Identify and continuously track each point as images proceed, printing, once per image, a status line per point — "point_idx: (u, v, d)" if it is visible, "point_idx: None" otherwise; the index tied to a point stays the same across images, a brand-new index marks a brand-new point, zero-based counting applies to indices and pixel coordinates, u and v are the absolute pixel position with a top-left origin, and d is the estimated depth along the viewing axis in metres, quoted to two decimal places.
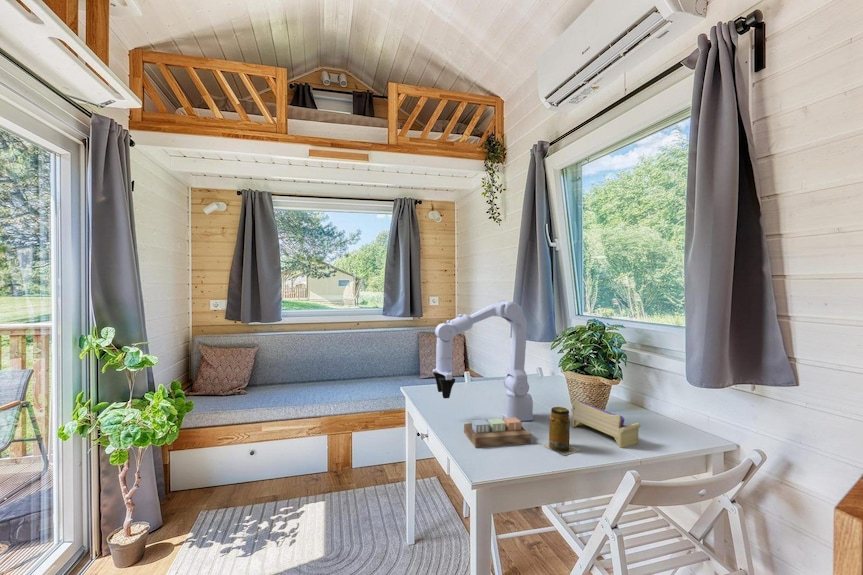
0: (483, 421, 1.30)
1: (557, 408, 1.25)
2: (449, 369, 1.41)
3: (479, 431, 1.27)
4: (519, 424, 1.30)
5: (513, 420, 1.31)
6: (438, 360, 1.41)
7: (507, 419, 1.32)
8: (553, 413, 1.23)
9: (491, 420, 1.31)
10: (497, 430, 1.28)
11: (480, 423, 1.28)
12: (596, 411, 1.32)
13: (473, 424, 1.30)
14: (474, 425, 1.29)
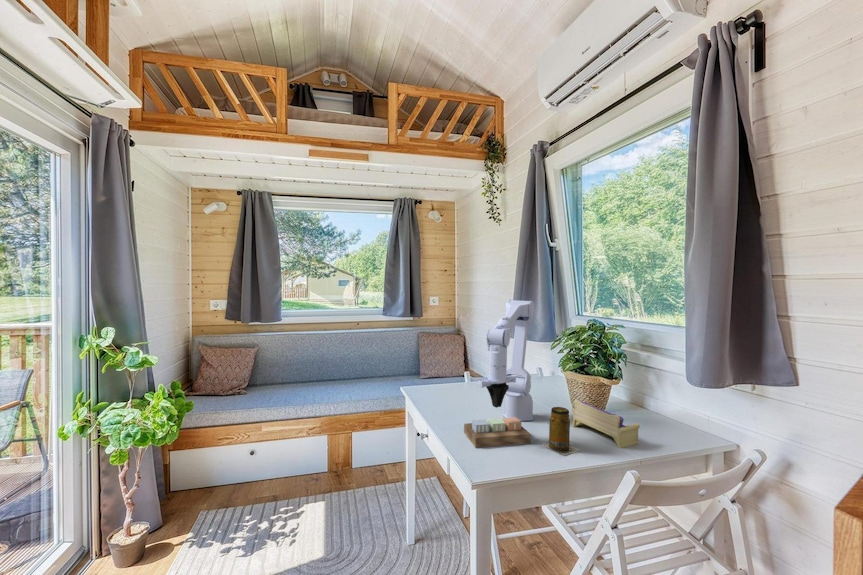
0: (483, 421, 1.30)
1: (557, 408, 1.25)
2: (494, 378, 1.28)
3: (479, 431, 1.27)
4: (519, 424, 1.30)
5: (513, 420, 1.31)
6: None
7: (507, 419, 1.32)
8: (553, 413, 1.23)
9: (491, 420, 1.31)
10: (497, 430, 1.28)
11: (480, 423, 1.28)
12: (596, 411, 1.32)
13: (473, 424, 1.30)
14: (474, 425, 1.29)
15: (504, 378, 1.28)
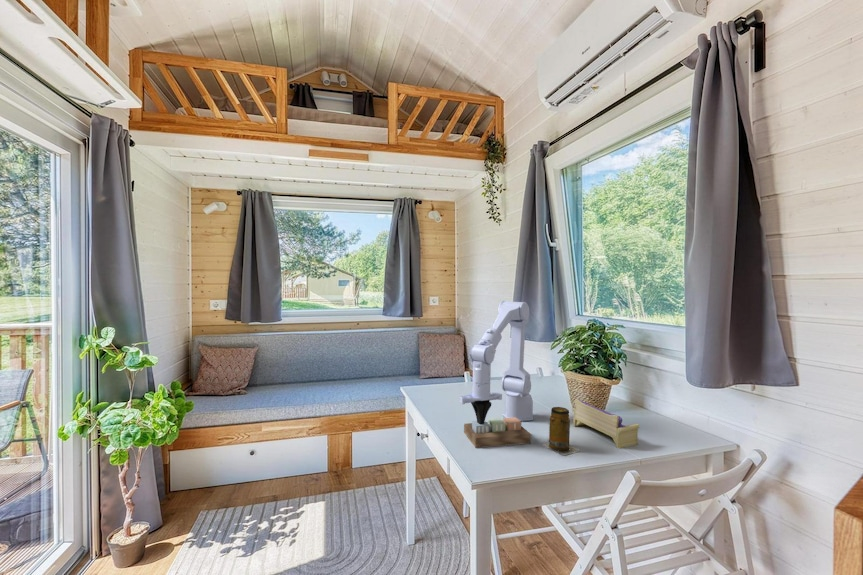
0: None
1: (557, 408, 1.25)
2: (476, 395, 1.27)
3: (479, 432, 1.27)
4: (519, 424, 1.30)
5: (513, 420, 1.31)
6: None
7: (507, 419, 1.32)
8: (553, 413, 1.23)
9: (491, 420, 1.31)
10: (497, 430, 1.28)
11: None
12: (595, 411, 1.32)
13: (473, 425, 1.30)
14: (474, 426, 1.29)
15: (486, 395, 1.27)
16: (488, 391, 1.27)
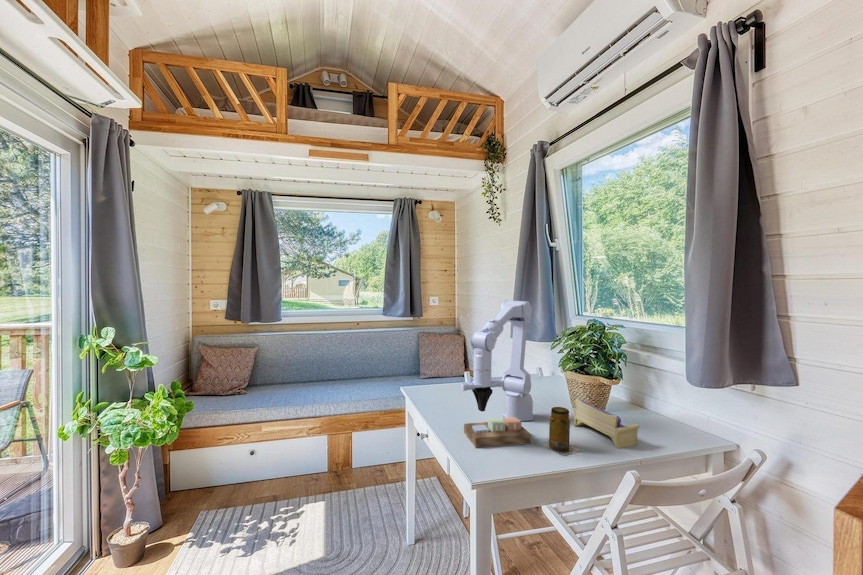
0: (483, 426, 1.30)
1: (557, 408, 1.25)
2: (477, 382, 1.27)
3: None
4: (519, 424, 1.30)
5: (513, 420, 1.31)
6: None
7: (507, 419, 1.32)
8: (553, 413, 1.23)
9: (491, 420, 1.31)
10: (497, 430, 1.28)
11: (480, 429, 1.28)
12: (595, 411, 1.32)
13: (473, 430, 1.30)
14: None
15: (488, 382, 1.27)
16: (489, 378, 1.27)
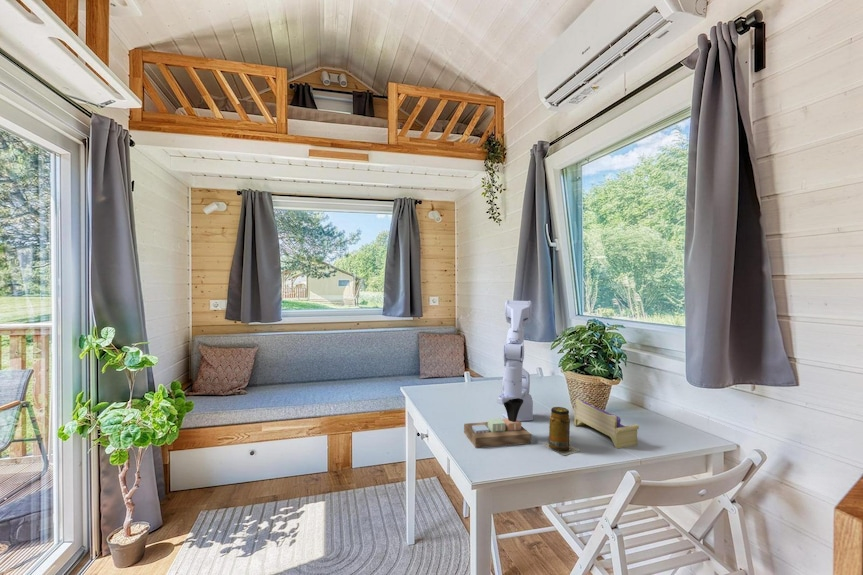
0: (483, 426, 1.30)
1: (557, 408, 1.25)
2: (512, 394, 1.29)
3: None
4: (519, 425, 1.30)
5: None
6: (504, 381, 1.32)
7: (507, 420, 1.32)
8: (553, 413, 1.23)
9: (491, 420, 1.31)
10: (497, 430, 1.28)
11: (480, 429, 1.28)
12: (595, 411, 1.33)
13: (473, 430, 1.30)
14: None
15: (520, 393, 1.30)
16: (521, 388, 1.30)
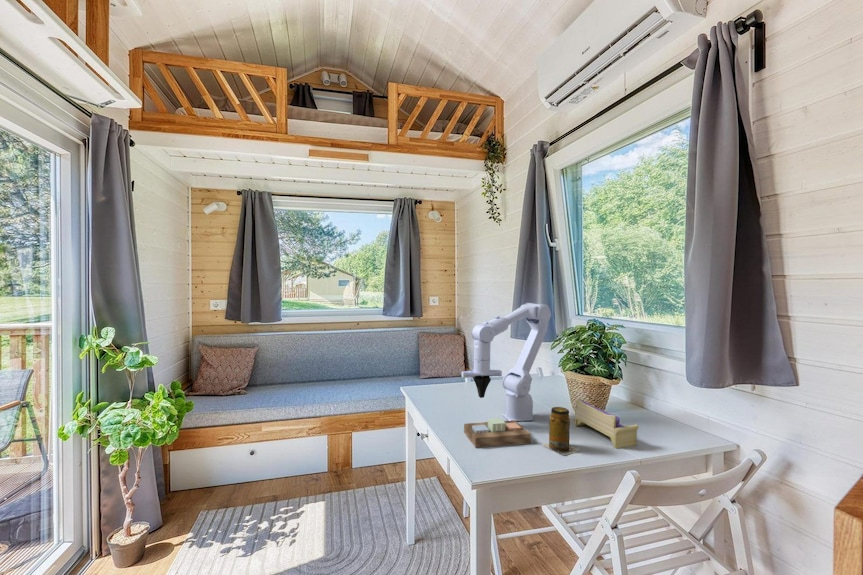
0: (483, 426, 1.30)
1: (557, 408, 1.25)
2: (476, 371, 1.40)
3: None
4: None
5: (513, 426, 1.31)
6: None
7: (507, 424, 1.32)
8: (553, 413, 1.23)
9: (491, 420, 1.31)
10: (497, 430, 1.28)
11: (480, 429, 1.28)
12: (594, 411, 1.33)
13: (473, 430, 1.30)
14: None
15: (486, 371, 1.39)
16: (487, 367, 1.40)
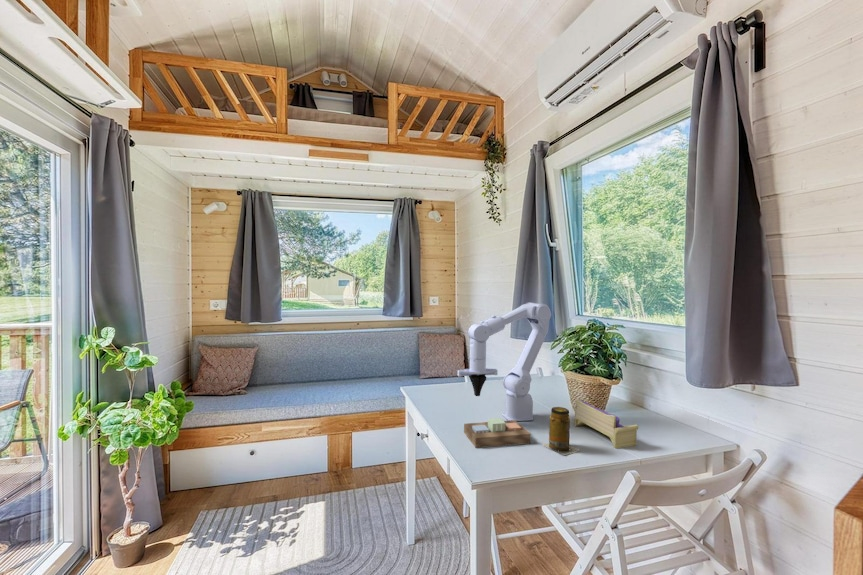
0: (483, 426, 1.30)
1: (557, 408, 1.25)
2: (472, 369, 1.42)
3: None
4: None
5: (513, 426, 1.31)
6: None
7: (507, 424, 1.32)
8: (553, 413, 1.23)
9: (491, 420, 1.31)
10: (497, 430, 1.28)
11: (480, 429, 1.28)
12: (594, 411, 1.33)
13: (473, 430, 1.30)
14: None
15: (481, 370, 1.41)
16: (483, 366, 1.41)
